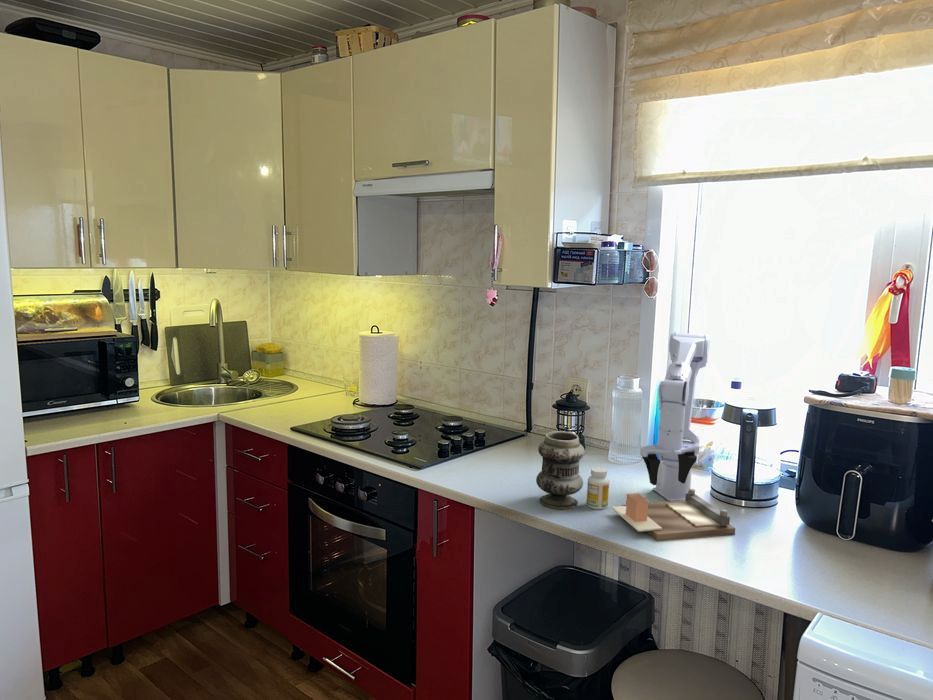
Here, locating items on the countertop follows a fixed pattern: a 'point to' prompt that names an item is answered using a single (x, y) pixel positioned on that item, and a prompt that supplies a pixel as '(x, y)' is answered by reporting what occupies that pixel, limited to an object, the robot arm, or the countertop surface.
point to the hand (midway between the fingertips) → (667, 482)
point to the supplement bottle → (598, 489)
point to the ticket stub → (637, 513)
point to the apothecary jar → (560, 469)
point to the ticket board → (688, 519)
